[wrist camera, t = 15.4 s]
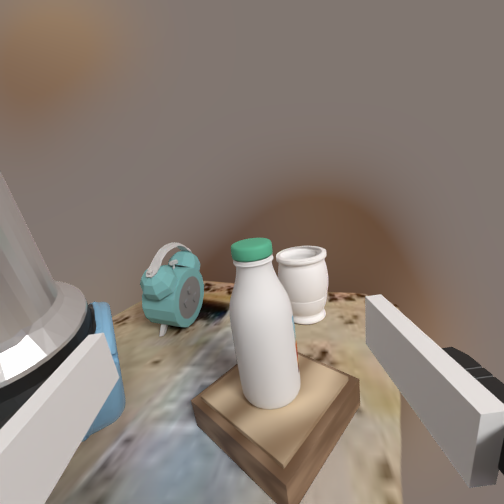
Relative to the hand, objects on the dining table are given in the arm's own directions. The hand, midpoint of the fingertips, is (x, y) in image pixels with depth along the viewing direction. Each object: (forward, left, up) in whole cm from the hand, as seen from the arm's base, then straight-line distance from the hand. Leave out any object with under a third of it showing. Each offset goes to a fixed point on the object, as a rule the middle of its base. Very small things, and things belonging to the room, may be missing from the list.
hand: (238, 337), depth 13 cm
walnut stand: (-11, +13, -24) cm, 30 cm away
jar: (-22, +37, -25) cm, 50 cm away
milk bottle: (-11, +13, -20) cm, 26 cm away
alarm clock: (-46, +19, -25) cm, 56 cm away
